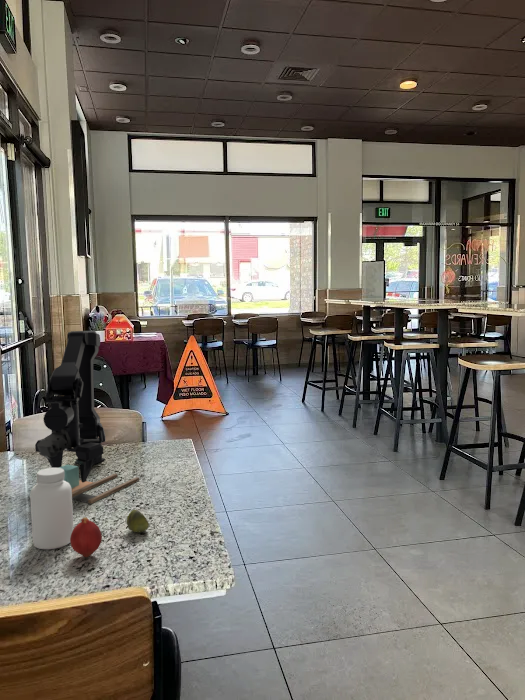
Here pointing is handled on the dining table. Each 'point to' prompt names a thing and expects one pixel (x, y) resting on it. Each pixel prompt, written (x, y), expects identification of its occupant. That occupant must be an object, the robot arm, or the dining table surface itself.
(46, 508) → the pill bottle
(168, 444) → the dining table surface
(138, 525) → the lime
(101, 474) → the dining table surface
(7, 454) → the dining table surface
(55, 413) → the robot arm
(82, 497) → the chute
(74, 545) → the onion
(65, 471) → the block
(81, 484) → the tile
